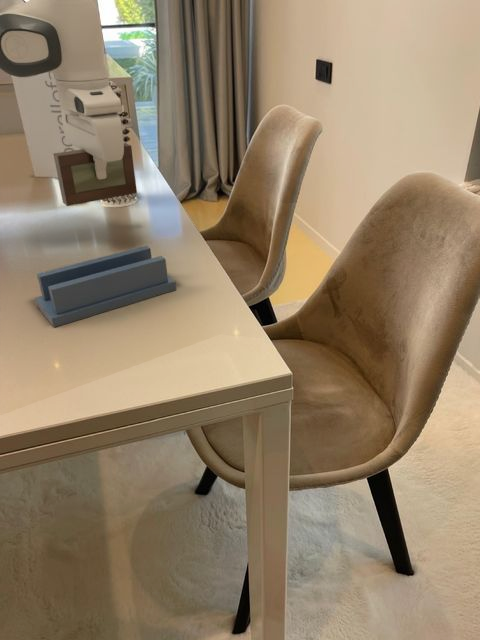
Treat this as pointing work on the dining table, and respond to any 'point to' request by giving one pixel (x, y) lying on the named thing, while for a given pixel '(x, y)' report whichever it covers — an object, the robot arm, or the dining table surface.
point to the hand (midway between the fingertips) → (97, 176)
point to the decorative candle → (130, 198)
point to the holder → (101, 285)
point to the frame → (93, 177)
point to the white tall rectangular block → (41, 121)
